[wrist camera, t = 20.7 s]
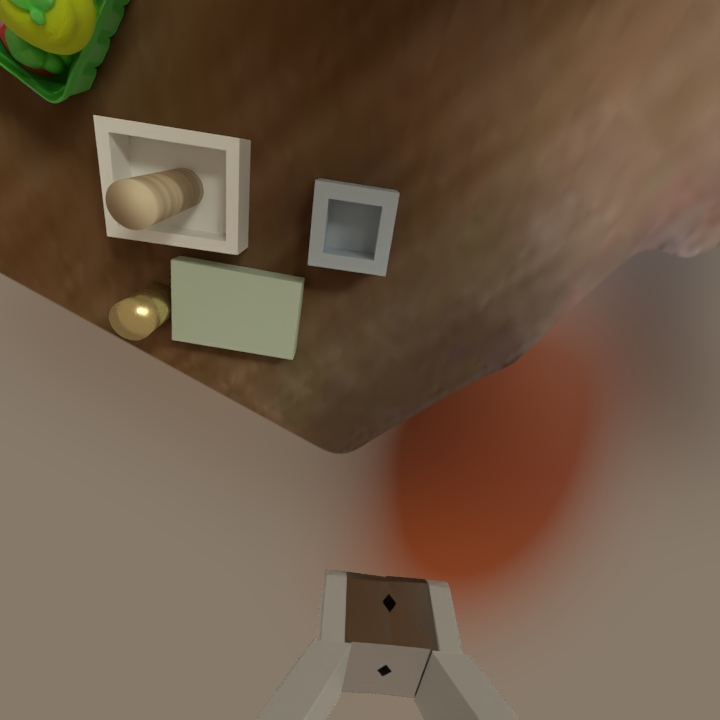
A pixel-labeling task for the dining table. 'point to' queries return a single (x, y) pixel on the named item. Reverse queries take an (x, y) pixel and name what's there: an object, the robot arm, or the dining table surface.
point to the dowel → (153, 197)
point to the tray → (181, 150)
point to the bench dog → (142, 312)
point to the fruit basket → (57, 42)
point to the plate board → (235, 307)
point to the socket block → (352, 226)
